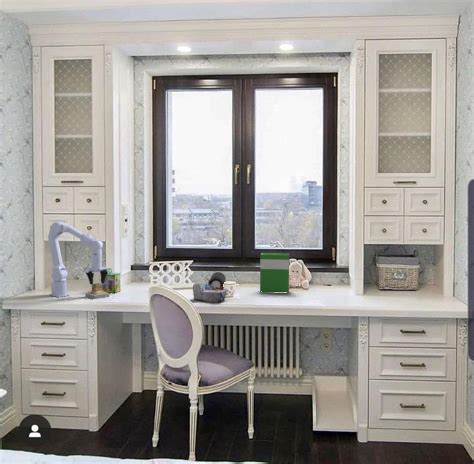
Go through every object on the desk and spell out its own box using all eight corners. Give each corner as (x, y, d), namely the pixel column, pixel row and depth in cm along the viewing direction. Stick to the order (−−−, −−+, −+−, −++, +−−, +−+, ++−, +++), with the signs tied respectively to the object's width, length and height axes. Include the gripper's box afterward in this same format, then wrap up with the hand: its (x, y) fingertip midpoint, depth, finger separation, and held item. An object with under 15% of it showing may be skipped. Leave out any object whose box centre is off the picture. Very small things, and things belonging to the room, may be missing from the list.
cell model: (198, 279, 347) (230, 281, 340) (198, 297, 347) (229, 300, 341) (190, 282, 334) (223, 285, 328) (189, 301, 335) (222, 304, 329)
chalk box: (115, 293, 357) (115, 269, 356) (101, 292, 359) (100, 269, 358) (121, 290, 366) (120, 267, 365) (107, 290, 368) (107, 267, 367)
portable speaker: (223, 293, 361) (223, 277, 360) (207, 293, 361) (207, 277, 360) (225, 286, 386) (225, 271, 386) (210, 286, 387) (211, 271, 386)
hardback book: (288, 291, 369) (289, 253, 367) (288, 293, 362) (288, 255, 360) (261, 290, 371) (261, 253, 369) (260, 292, 364) (260, 254, 362)
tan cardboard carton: (90, 293, 347) (90, 283, 346) (97, 292, 350) (97, 283, 350) (96, 294, 342) (96, 285, 342) (104, 293, 346) (104, 284, 345)
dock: (85, 296, 346) (85, 293, 346) (99, 294, 353) (99, 291, 353) (94, 298, 339) (94, 295, 339) (109, 296, 346) (109, 293, 346)
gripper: (89, 262, 337) (89, 285, 338) (111, 260, 347) (111, 283, 348) (83, 261, 342) (83, 284, 343) (104, 259, 352) (104, 281, 353)
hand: (97, 283), depth 346 cm, fingers open, 7 cm apart
